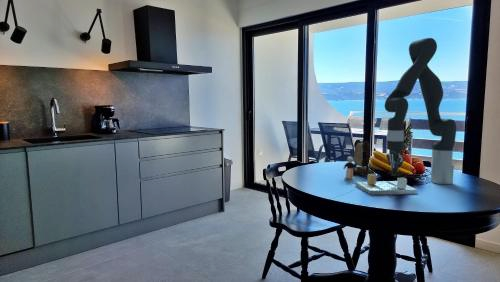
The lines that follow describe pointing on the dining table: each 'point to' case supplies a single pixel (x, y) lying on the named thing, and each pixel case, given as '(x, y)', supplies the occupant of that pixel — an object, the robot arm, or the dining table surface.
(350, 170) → the grandmother figurine
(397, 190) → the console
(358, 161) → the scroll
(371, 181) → the fader
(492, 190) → the dining table surface
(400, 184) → the fader
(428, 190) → the dining table surface
